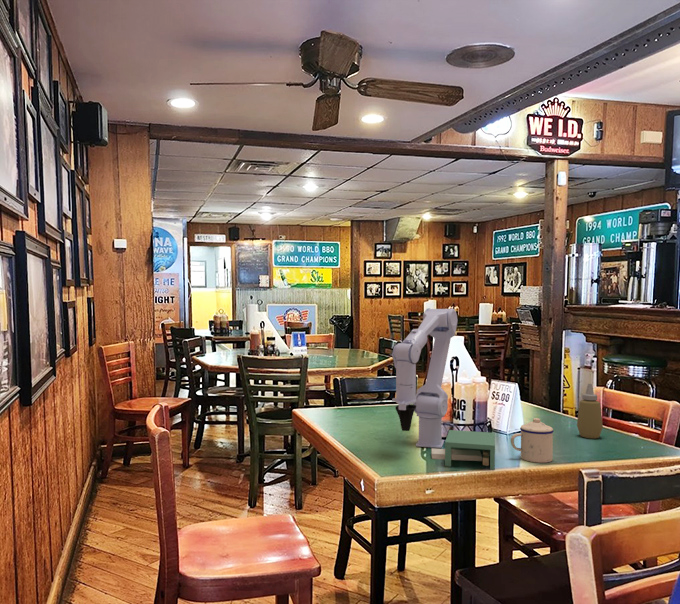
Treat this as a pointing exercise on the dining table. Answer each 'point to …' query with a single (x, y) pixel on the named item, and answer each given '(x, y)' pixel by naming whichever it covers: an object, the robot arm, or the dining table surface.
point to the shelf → (471, 445)
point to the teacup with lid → (535, 442)
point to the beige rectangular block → (457, 454)
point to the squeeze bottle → (589, 415)
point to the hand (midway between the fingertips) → (405, 430)
